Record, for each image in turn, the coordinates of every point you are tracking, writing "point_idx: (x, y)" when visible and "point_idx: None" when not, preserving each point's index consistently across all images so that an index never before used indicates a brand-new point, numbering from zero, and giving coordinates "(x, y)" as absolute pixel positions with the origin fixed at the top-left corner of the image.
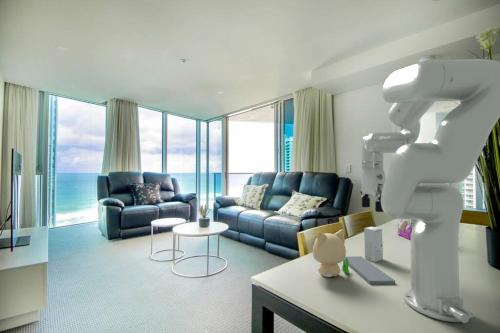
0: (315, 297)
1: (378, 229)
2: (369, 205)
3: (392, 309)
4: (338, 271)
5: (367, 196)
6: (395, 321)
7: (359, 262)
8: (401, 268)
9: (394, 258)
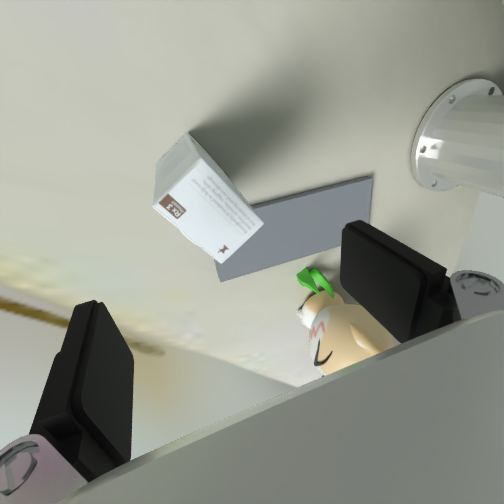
0: None
1: (234, 191)
2: (102, 316)
3: (437, 219)
4: (340, 297)
5: (84, 463)
6: (458, 226)
7: (263, 238)
8: (273, 99)
9: (161, 66)
